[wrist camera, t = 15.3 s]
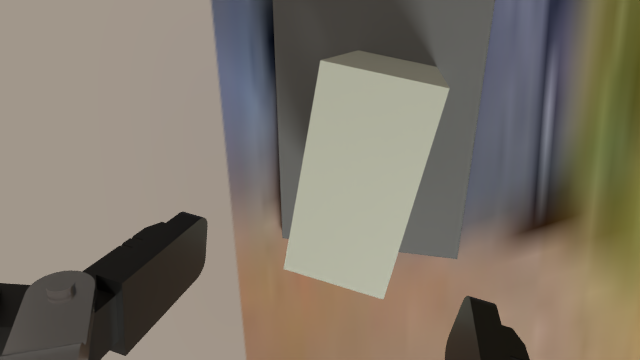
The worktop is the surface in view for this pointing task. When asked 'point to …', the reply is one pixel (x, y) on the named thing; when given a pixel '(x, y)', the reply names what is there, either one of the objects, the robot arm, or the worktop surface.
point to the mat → (402, 43)
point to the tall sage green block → (362, 167)
